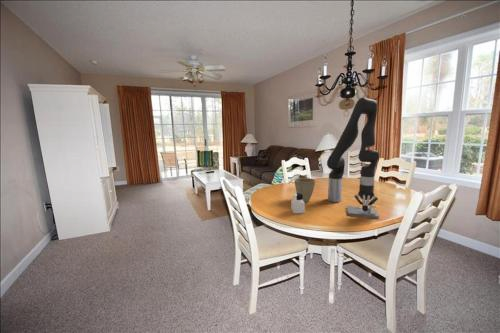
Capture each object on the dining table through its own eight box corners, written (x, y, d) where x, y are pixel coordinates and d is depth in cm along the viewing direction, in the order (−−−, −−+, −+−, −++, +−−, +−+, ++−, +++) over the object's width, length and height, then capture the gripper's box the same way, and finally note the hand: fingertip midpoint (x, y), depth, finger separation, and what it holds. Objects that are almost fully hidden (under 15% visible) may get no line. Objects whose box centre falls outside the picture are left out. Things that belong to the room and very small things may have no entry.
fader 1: (369, 209, 135) (370, 202, 134) (369, 208, 137) (369, 200, 137) (374, 210, 134) (374, 202, 133) (373, 208, 136) (374, 201, 136)
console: (347, 215, 132) (348, 212, 132) (347, 208, 144) (347, 205, 144) (378, 218, 126) (378, 216, 126) (375, 210, 138) (375, 208, 137)
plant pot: (315, 204, 152) (316, 182, 150) (294, 203, 155) (294, 182, 153) (313, 197, 167) (314, 177, 164) (294, 197, 170) (294, 177, 167)
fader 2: (370, 213, 128) (371, 205, 127) (369, 212, 131) (370, 204, 130) (375, 214, 127) (375, 206, 127) (374, 212, 130) (375, 204, 129)
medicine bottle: (301, 209, 144) (302, 192, 142) (304, 213, 137) (305, 195, 135) (291, 209, 144) (291, 192, 142) (293, 213, 137) (293, 195, 135)
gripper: (354, 184, 127) (353, 212, 130) (380, 185, 122) (378, 214, 125) (354, 181, 134) (352, 207, 136) (378, 182, 129) (376, 210, 132)
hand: (364, 211), depth 131 cm, fingers closed
